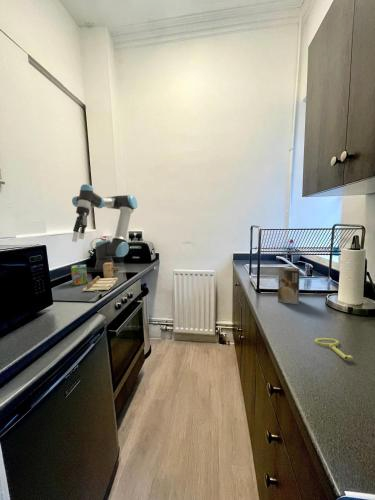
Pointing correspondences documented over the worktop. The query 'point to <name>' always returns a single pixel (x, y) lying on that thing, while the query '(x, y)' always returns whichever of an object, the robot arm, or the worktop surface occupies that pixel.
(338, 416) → the worktop surface
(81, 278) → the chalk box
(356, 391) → the worktop surface
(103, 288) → the guide board
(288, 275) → the coffee box
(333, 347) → the key
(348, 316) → the worktop surface
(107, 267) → the marking gauge
